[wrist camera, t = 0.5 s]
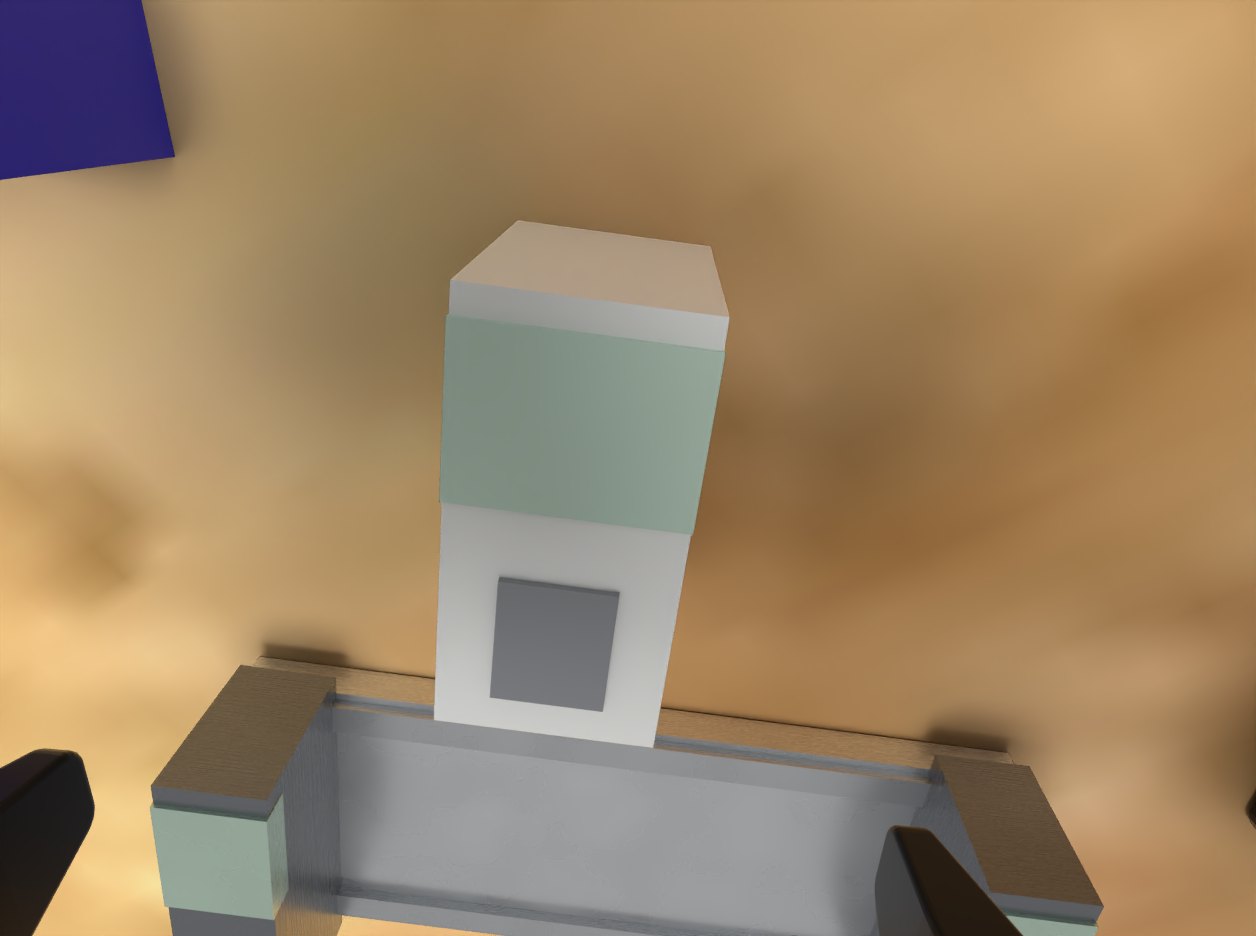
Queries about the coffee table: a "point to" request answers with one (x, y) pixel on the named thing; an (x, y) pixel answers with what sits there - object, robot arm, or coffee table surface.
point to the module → (571, 476)
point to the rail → (571, 821)
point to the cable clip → (77, 87)
